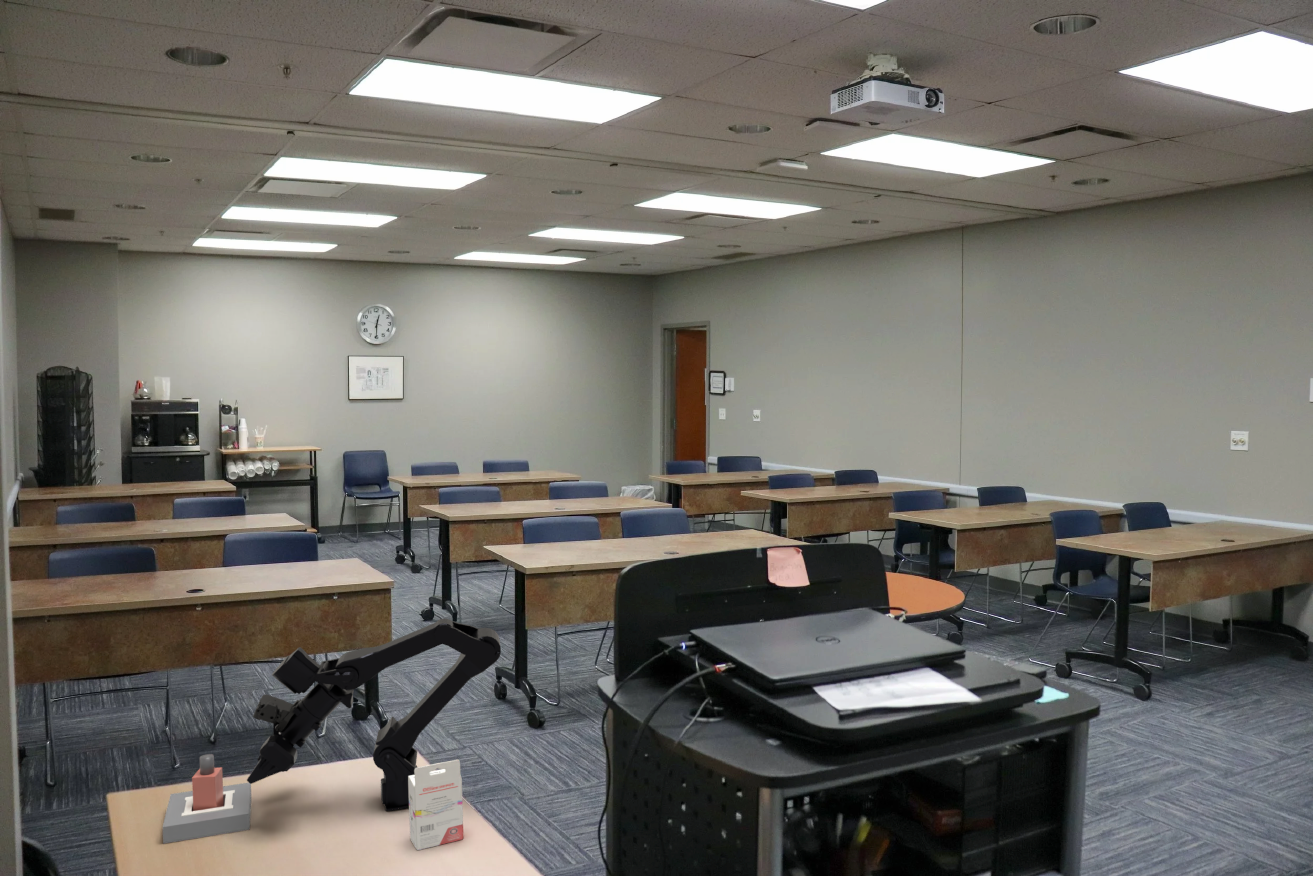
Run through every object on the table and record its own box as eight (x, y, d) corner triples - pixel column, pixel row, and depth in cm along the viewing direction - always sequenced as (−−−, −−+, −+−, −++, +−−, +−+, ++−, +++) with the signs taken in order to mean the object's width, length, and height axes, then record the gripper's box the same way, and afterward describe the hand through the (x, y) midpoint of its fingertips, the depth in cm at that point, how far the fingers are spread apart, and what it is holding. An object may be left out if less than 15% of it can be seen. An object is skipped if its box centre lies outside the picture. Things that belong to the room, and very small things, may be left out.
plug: (223, 814, 182) (221, 752, 181) (216, 824, 178) (214, 760, 177) (201, 815, 181) (199, 753, 180) (194, 825, 177) (191, 761, 176)
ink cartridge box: (456, 828, 176) (454, 749, 175) (464, 840, 172) (462, 759, 170) (408, 839, 172) (406, 758, 171) (415, 851, 168) (413, 769, 167)
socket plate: (251, 797, 189) (250, 781, 188) (249, 829, 176) (248, 812, 175) (171, 809, 184) (170, 793, 183) (163, 843, 171) (162, 826, 170)
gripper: (289, 666, 189) (231, 725, 188) (270, 698, 171) (206, 765, 170) (333, 702, 191) (276, 761, 190) (319, 738, 173) (256, 804, 172)
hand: (254, 771), depth 180 cm, fingers open, 9 cm apart
